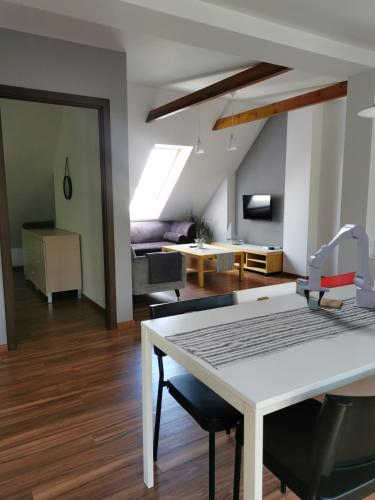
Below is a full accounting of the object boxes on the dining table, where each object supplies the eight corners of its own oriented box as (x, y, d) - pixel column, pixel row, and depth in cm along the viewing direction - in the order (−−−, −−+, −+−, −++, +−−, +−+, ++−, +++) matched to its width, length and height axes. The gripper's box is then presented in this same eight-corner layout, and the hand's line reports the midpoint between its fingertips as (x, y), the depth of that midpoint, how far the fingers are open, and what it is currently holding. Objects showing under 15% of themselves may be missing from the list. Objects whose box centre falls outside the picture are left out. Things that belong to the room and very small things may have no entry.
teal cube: (318, 307, 196) (319, 298, 195) (317, 309, 192) (317, 300, 192) (309, 306, 198) (310, 297, 198) (308, 308, 194) (308, 299, 194)
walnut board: (342, 302, 205) (342, 300, 205) (339, 308, 193) (339, 306, 193) (323, 300, 210) (323, 298, 210) (319, 306, 198) (319, 304, 198)
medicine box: (295, 292, 226) (296, 278, 225) (302, 292, 227) (302, 278, 226) (303, 296, 219) (303, 281, 217) (309, 295, 220) (310, 281, 219)
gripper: (330, 278, 194) (328, 304, 196) (300, 276, 199) (300, 301, 201) (329, 281, 187) (328, 307, 189) (299, 279, 193) (298, 304, 195)
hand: (313, 304), depth 195 cm, fingers closed on teal cube, 5 cm apart
